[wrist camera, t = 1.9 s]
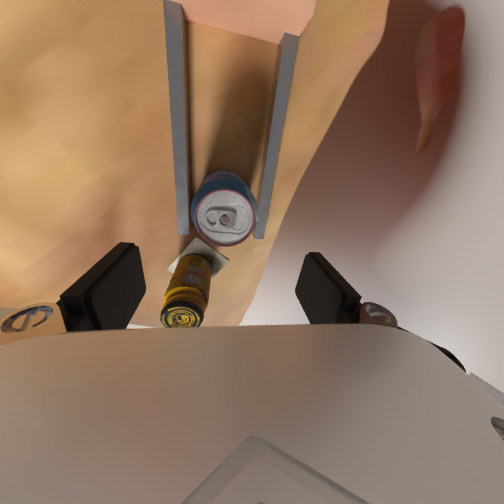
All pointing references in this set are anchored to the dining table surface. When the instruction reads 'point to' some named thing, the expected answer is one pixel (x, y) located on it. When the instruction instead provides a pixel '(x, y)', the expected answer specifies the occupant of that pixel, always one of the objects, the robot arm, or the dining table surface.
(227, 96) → the dining table surface
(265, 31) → the stop block
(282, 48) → the guide channel
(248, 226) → the soda can
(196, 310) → the condiment
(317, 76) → the dining table surface
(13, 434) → the robot arm
